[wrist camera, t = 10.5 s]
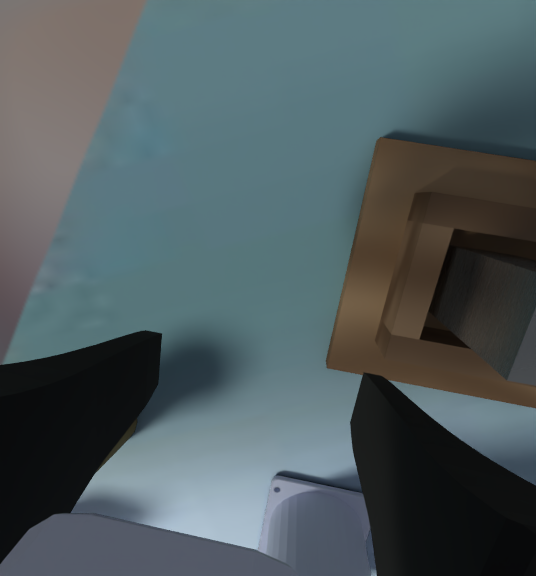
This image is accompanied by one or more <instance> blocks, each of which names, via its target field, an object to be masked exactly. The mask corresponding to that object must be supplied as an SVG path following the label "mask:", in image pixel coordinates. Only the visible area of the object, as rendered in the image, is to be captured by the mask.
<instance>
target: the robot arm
mask: <svg viewBox="0 0 536 576" xmlns="http://www.w3.org/2000/svg"><path fill="white" fill-rule="evenodd" d="M161 340H162V333H157V332H151V331H146V330H145V331H140V332H136V333H132V334H129V335H125V336H122V337H119V338H116V339H112V340H109V341H106V342H103V343H100V344H96V345H93V346H89V347H86V348H82V349H79V350H75V351H71V352H68V353H64V354H60V355H55V356H51V357H46V358H41V359H36V360H31V361H25V362H19V363H12V364H5V365H0V576H371V572H370V566H369V561H368V555H367V550H366V545H365V543H366V540H367V537H368V534H369V531H370V528H371V533H372V541H373V548H374V556H375V563H376V571H377V576H536V486H535V485H534V484H532V483H530V482H528V481H526V480H524V479H522V478H521V477H519V476H517V475H515V474H514V473H512V472H510V471H509V470H507V469H505V468H504V467H502V466H500V465H498V464H497V463H495V462H493V461H492V460H490V459H489V458H487V457H485V456H484V455H482V454H481V453H479V452H478V451H476V450H475V449H473V448H472V447H470V446H469V445H467V444H466V443H464V442H463V441H462V440H460V439H459V438H457V437H456V436H455V435H453V434H452V433H450V432H449V431H448V430H447V429H445V428H444V427H443V426H441V425H440V424H439V423H438V422H436V421H435V420H434V419H432V418H431V417H430V416H429V415H428V414H426V413H425V412H424V411H423V410H422V409H420V408H419V407H418V406H417V405H416V404H415V403H413V402H412V401H411V400H410V399H409V398H408V397H407V396H406V395H404V394H403V393H402V392H401V391H400V390H399V389H398V388H396V387H395V386H394V385H393V384H392V383H391V382H389V381H388V380H387V379H386V378H384V377H383V376H381V375H376V374H370V373H365V372H364V373H363V377H362V381H361V384H360V388H359V392H358V395H357V399H356V403H355V407H354V410H353V414H352V418H351V421H350V425H351V437H352V447H353V453H354V457H355V462H356V466H357V471H358V475H359V479H360V483H361V488H362V492H363V493H359V492H354V491H349V490H345V489H340V488H335V487H331V486H326V485H321V484H316V483H312V482H307V481H302V480H298V479H293V478H288V477H283V476H274V477H273V479H272V482H271V487H270V492H269V497H268V502H267V507H266V512H265V517H264V522H263V527H262V532H261V537H260V542H259V547H258V551H257V550H255V549H250V548H246V547H241V546H237V545H233V544H228V543H224V542H219V541H215V540H210V539H206V538H201V537H197V536H193V535H188V534H184V533H179V532H175V531H170V530H166V529H161V528H157V527H153V526H148V525H144V524H139V523H135V522H130V521H126V520H121V519H117V518H113V517H108V516H104V515H99V514H88V513H71V511H72V509H73V508H74V506H75V504H76V503H77V501H78V499H79V498H80V496H81V495H82V493H83V491H84V490H85V488H86V487H87V485H88V484H89V482H90V480H91V479H92V477H93V476H94V474H95V472H96V471H97V470H98V468H99V467H100V465H101V464H102V463H103V461H104V460H105V458H106V457H107V456H108V455H109V453H110V452H111V451H112V449H113V448H114V447H115V446H116V444H117V443H118V442H119V440H120V439H121V438H122V437H123V435H124V434H125V433H126V431H127V430H128V429H129V427H130V426H131V425H132V424H133V422H134V421H135V420H136V418H137V417H138V416H139V414H140V413H141V412H142V410H143V409H144V408H145V406H146V405H147V403H148V401H149V399H150V398H151V396H152V394H153V392H154V391H155V389H156V387H157V385H158V380H159V366H160V353H161ZM275 487H279V488H275Z"/></svg>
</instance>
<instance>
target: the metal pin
mask: <svg viewBox="0 0 536 576" xmlns="http://www.w3.org/2000/svg"><path fill="white" fill-rule="evenodd" d="M428 311H429V312H430V313H431V314H432V315H433V316H434V317H435V318H437V319H438V320H439V321H440V322H441V323H442V324H443V325H445V326H446V327H447V328H448V329H449V330H450V331H451V332H452V333H454V334H455V335H456V336H457V337H458V338H459V339H460V340H462V341H463V342H464V343H465V344H466V345H467V346H468V347H469V348H471V349H472V350H473V351H474V352H475V353H476V354H477V355H479V356H480V357H481V358H482V359H483V360H484V361H485V362H486V363H488V364H489V365H490V366H491V367H492V368H493V369H494V370H496V371H497V372H498V373H499V374H500V375H501V376H502V377H504V378H505V379H506V380H507V381H512V382H518V383H523V384H529V385H534V386H536V260H533V259H529V258H525V257H521V256H516V255H510V254H504V253H497V252H491V251H485V250H479V249H472V248H466V247H460V246H453V245H449V246H448V249H447V252H446V256H445V259H444V262H443V265H442V268H441V272H440V275H439V278H438V281H437V284H436V288H435V291H434V294H433V297H432V301H431V304H430V307H429V310H428Z"/></svg>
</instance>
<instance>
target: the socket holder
mask: <svg viewBox="0 0 536 576" xmlns="http://www.w3.org/2000/svg"><path fill="white" fill-rule="evenodd" d="M449 245H453V246H460V247H466V248H472V249H479V250H485V251H491V252H497V253H504V254H510V255H516V256H521V257H525V258H529V259H533V260H536V161H533V160H526V159H520V158H513V157H507V156H500V155H494V154H487V153H481V152H474V151H467V150H461V149H454V148H448V147H441V146H435V145H428V144H422V143H415V142H408V141H402V140H395V139H389V138H382V137H380V138H379V139H378V140H377V141H376V145H375V150H374V154H373V158H372V163H371V167H370V171H369V176H368V180H367V185H366V189H365V193H364V198H363V202H362V206H361V211H360V215H359V219H358V224H357V228H356V232H355V237H354V241H353V245H352V250H351V254H350V258H349V263H348V267H347V271H346V276H345V280H344V284H343V289H342V293H341V297H340V302H339V306H338V310H337V315H336V319H335V324H334V328H333V332H332V337H331V341H330V345H329V350H328V354H327V358H326V365H327V368H329V369H334V370H340V371H345V372H350V373H355V374H360V375H363V373H364V372H365V373H370V374H376V375H381V376H383V377H384V378H386V379H387V380H392V381H397V382H402V383H407V384H413V385H418V386H423V387H428V388H433V389H439V390H444V391H449V392H454V393H459V394H465V395H470V396H475V397H480V398H485V399H491V400H496V401H501V402H506V403H511V404H517V405H522V406H527V407H532V408H536V386H534V385H529V384H523V383H518V382H512V381H507V380H506V379H505V378H504V377H502V376H501V375H500V374H499V373H498V372H497V371H496V370H494V369H493V368H492V367H491V366H490V365H489V364H488V363H486V362H485V361H484V360H483V359H482V358H481V357H480V356H479V355H477V354H476V353H475V352H474V351H473V350H472V349H471V348H469V347H468V346H467V345H466V344H465V343H464V342H463V341H462V340H460V339H459V338H458V337H457V336H456V335H455V334H454V333H452V332H451V331H450V330H449V329H448V328H447V327H446V326H445V325H443V324H442V323H441V322H440V321H439V320H438V319H437V318H435V317H434V316H433V315H432V314H431V313H430V312H429V311H428V310H429V307H430V304H431V301H432V297H433V294H434V291H435V288H436V284H437V281H438V278H439V275H440V272H441V268H442V265H443V262H444V259H445V256H446V252H447V249H448V246H449Z"/></svg>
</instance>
